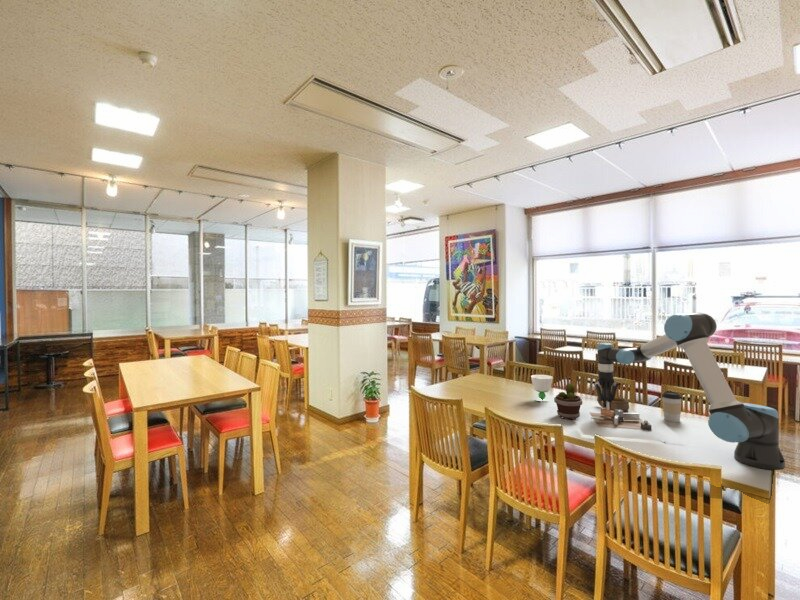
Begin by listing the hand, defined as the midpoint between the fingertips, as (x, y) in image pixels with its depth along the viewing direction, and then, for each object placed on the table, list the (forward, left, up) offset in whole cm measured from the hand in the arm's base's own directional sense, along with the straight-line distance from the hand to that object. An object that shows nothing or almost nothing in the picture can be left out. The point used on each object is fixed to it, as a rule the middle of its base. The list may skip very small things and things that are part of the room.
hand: (607, 413), depth 211 cm
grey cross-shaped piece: (-6, -2, -2) cm, 7 cm away
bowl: (+15, -6, -3) cm, 17 cm away
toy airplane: (-8, -4, -3) cm, 9 cm away
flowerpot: (-2, +20, -3) cm, 20 cm away
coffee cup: (+5, -33, -3) cm, 34 cm away
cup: (+30, +32, -3) cm, 44 cm away
